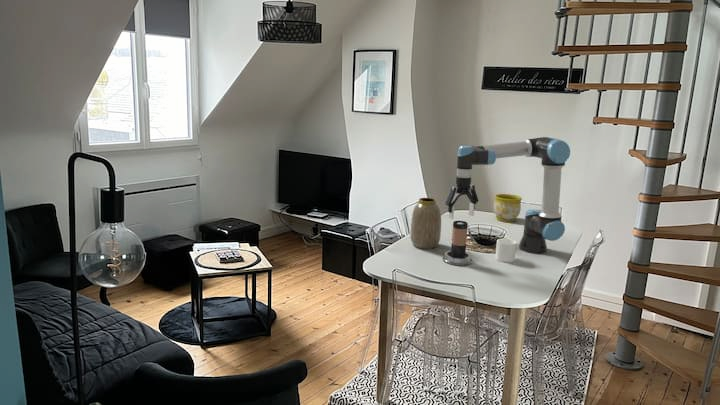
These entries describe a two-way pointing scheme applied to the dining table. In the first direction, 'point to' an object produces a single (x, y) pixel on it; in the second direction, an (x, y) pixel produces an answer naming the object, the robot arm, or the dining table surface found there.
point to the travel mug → (459, 239)
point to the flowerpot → (507, 207)
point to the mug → (505, 250)
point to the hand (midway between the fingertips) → (461, 217)
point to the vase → (426, 224)
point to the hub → (457, 259)
